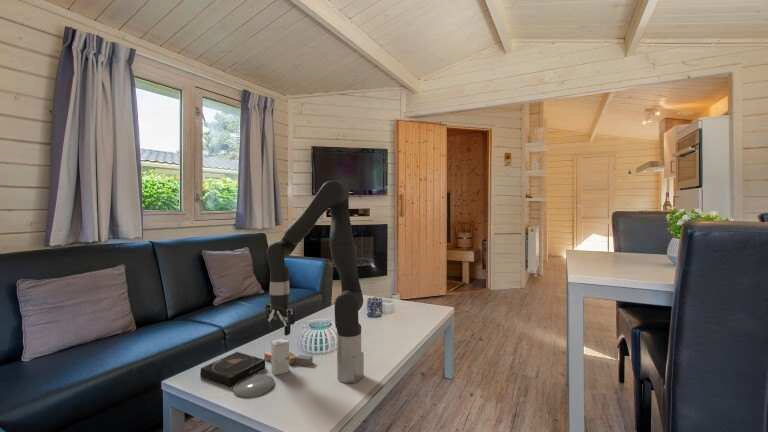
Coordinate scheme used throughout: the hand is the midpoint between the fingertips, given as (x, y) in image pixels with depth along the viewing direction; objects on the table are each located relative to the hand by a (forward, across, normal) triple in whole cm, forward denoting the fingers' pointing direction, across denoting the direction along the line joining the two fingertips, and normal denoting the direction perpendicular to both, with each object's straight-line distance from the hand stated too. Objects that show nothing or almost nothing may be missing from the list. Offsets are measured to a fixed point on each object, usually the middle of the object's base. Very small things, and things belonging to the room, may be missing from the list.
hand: (279, 332), depth 138 cm
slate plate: (+15, -1, +13) cm, 20 cm away
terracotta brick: (+16, +11, -5) cm, 20 cm away
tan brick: (+16, +3, -8) cm, 18 cm away
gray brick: (+16, -3, -10) cm, 19 cm away
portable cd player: (+16, +15, +10) cm, 24 cm away
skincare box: (+16, 0, 0) cm, 16 cm away
